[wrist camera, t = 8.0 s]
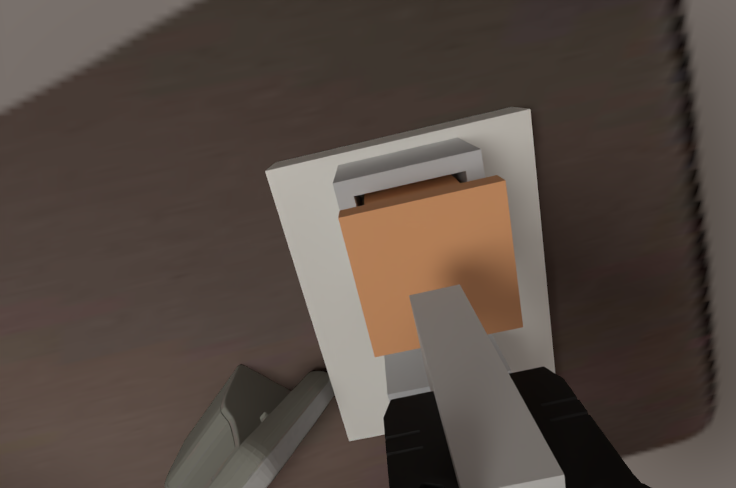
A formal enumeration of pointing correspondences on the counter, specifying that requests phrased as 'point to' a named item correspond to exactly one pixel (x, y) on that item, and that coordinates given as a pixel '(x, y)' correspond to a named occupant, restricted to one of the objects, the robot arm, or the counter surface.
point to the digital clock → (249, 431)
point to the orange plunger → (432, 254)
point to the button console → (332, 266)
